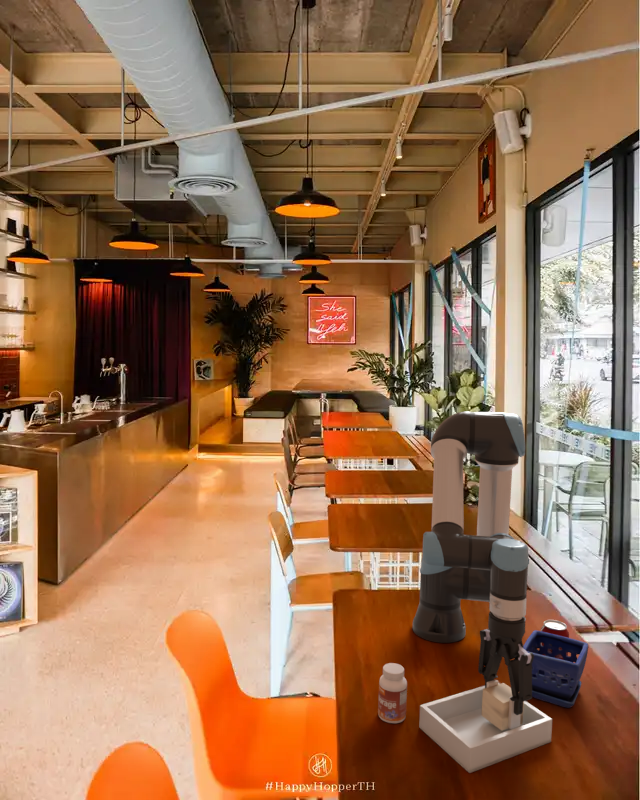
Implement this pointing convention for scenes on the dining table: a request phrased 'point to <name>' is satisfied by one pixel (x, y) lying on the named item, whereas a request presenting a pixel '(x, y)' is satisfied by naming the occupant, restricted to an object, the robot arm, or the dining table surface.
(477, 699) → the tote
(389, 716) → the pill bottle
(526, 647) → the flower pot
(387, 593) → the dining table surface
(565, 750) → the dining table surface
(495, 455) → the robot arm
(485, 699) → the beech cube
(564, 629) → the soda can
